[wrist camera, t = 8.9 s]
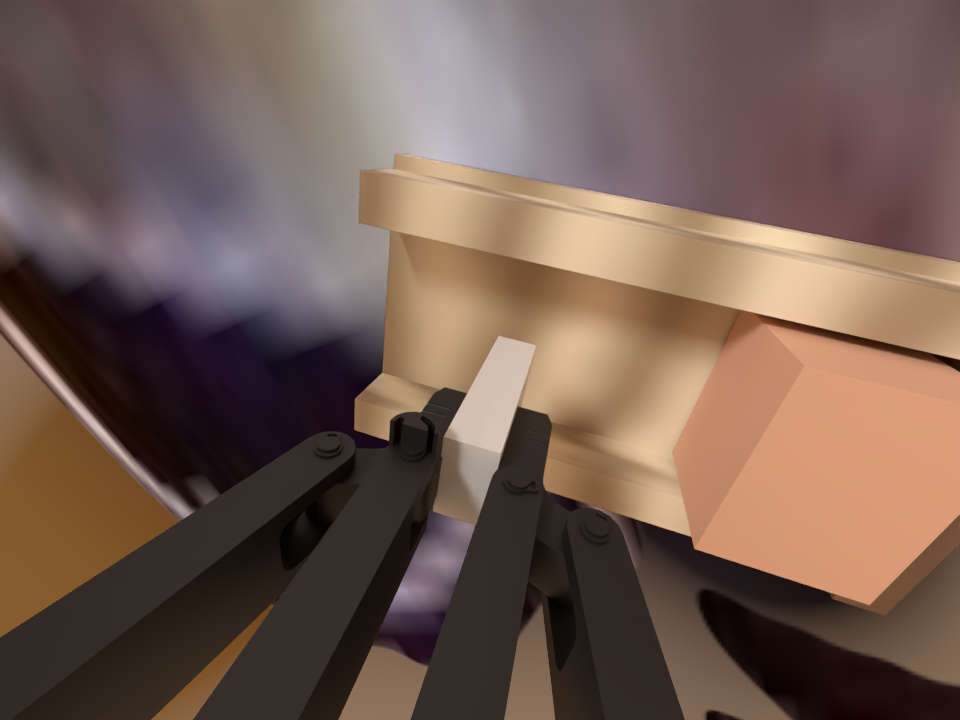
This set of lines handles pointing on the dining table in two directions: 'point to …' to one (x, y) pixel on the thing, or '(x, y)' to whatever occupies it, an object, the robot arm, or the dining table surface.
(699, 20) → the dining table surface
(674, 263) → the chute
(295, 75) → the dining table surface
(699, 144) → the dining table surface
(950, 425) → the block
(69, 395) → the dining table surface
